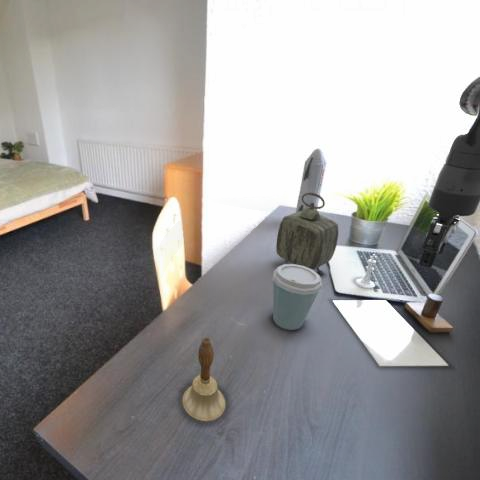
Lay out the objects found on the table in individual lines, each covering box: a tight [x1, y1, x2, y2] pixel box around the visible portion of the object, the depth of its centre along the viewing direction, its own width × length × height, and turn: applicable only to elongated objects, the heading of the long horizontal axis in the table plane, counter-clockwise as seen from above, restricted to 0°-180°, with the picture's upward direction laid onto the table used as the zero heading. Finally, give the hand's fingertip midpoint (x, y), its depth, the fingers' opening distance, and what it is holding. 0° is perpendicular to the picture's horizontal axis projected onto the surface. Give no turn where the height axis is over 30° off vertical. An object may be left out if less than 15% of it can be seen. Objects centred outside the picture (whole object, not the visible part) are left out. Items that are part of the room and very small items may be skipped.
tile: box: [331, 299, 450, 368], centre depth 78 cm, size 14×22×1 cm, turn 179°
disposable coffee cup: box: [272, 263, 323, 331], centre depth 78 cm, size 11×11×15 cm
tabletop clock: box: [275, 193, 339, 276], centre depth 97 cm, size 14×9×25 cm, turn 34°
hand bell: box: [182, 337, 226, 422], centre depth 59 cm, size 8×8×16 cm
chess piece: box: [355, 253, 378, 289], centre depth 93 cm, size 5×5×10 cm
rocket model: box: [295, 148, 327, 213], centre depth 126 cm, size 14×7×30 cm, turn 125°
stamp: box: [404, 293, 454, 335], centre depth 79 cm, size 9×5×8 cm, turn 179°
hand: (430, 258), depth 73 cm, fingers open, 8 cm apart
